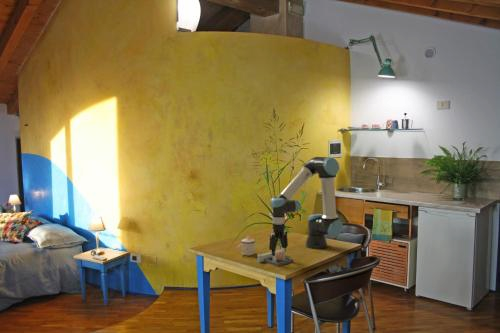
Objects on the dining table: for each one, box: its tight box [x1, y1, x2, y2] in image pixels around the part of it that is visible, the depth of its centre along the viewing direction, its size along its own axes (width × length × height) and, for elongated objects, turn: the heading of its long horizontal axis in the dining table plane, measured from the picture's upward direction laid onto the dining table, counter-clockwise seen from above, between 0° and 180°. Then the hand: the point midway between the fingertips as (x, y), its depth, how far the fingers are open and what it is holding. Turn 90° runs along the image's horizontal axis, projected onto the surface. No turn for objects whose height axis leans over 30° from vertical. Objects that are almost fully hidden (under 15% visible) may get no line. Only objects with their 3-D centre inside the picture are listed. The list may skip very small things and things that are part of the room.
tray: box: [263, 256, 294, 267], centre depth 256 cm, size 14×12×2 cm
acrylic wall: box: [256, 249, 281, 263], centre depth 262 cm, size 23×2×5 cm, turn 131°
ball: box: [276, 250, 284, 261], centre depth 256 cm, size 6×6×6 cm
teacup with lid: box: [237, 235, 256, 256], centre depth 273 cm, size 12×9×12 cm
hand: (278, 259), depth 256 cm, fingers open, 7 cm apart
